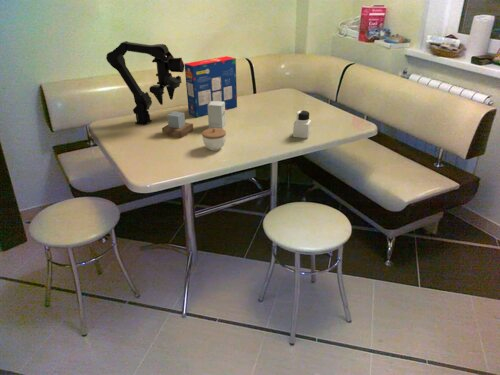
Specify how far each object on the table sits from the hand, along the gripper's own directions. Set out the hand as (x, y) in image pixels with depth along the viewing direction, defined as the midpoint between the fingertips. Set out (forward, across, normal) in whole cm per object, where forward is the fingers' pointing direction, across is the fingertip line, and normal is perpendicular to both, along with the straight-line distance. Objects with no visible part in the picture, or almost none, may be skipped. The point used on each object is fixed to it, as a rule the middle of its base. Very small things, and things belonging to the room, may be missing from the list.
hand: (166, 102), depth 212 cm
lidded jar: (+12, -19, -37) cm, 44 cm away
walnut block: (+12, -9, -11) cm, 19 cm away
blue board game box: (+12, +28, -12) cm, 33 cm away
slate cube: (+8, -8, -11) cm, 16 cm away
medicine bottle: (+12, +10, -70) cm, 72 cm away
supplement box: (+12, +6, -26) cm, 29 cm away
